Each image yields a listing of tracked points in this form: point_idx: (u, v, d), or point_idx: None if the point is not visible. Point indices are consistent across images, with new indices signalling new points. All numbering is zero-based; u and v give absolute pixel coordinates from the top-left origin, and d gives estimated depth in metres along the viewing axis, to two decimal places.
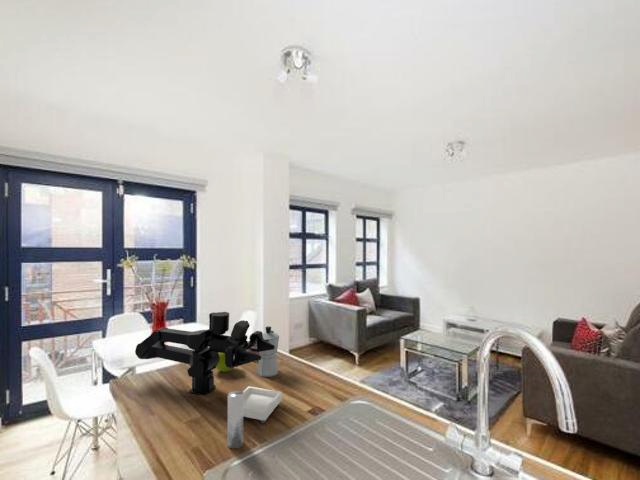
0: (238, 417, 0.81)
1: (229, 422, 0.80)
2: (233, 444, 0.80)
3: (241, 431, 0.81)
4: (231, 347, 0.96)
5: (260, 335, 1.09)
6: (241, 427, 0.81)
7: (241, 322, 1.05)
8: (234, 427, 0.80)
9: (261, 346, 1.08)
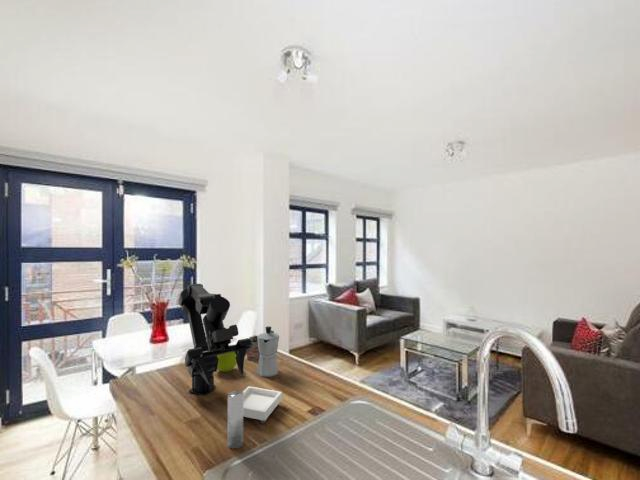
0: (238, 417, 0.81)
1: (229, 422, 0.80)
2: (233, 444, 0.80)
3: (241, 431, 0.81)
4: (192, 353, 0.87)
5: (244, 350, 0.94)
6: (241, 427, 0.81)
7: (225, 331, 0.90)
8: (234, 427, 0.80)
9: (238, 359, 0.95)
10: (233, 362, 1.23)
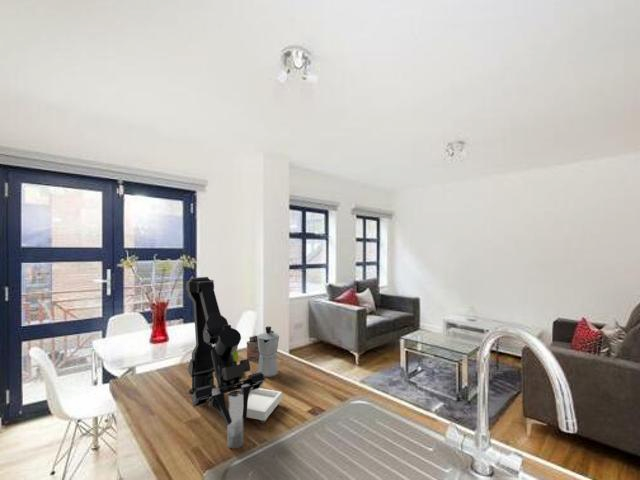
0: (238, 416, 0.81)
1: None
2: (233, 444, 0.80)
3: (241, 431, 0.81)
4: (200, 393, 0.79)
5: (247, 388, 0.85)
6: (241, 427, 0.81)
7: (236, 368, 0.82)
8: (234, 427, 0.80)
9: None
10: None
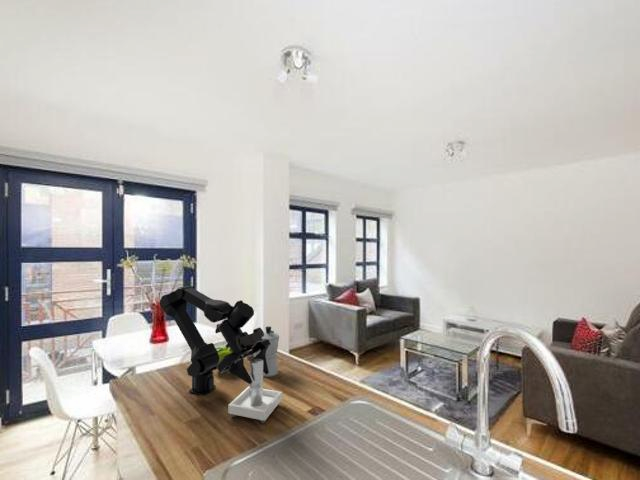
0: (261, 378, 0.96)
1: (254, 384, 0.95)
2: (257, 402, 0.95)
3: (262, 390, 0.97)
4: (231, 358, 0.91)
5: (264, 350, 1.02)
6: (262, 387, 0.97)
7: (257, 334, 0.97)
8: (259, 388, 0.95)
9: None
10: None
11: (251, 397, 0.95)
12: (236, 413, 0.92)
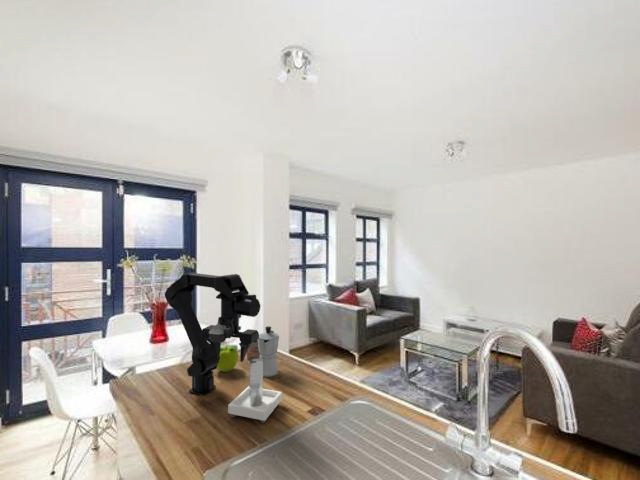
0: (261, 378, 0.96)
1: (253, 384, 0.95)
2: (257, 402, 0.95)
3: (262, 390, 0.97)
4: (202, 334, 1.03)
5: (242, 345, 1.00)
6: (262, 387, 0.97)
7: (215, 336, 0.96)
8: (258, 388, 0.95)
9: None
10: (233, 362, 1.23)
11: (251, 397, 0.95)
12: (236, 413, 0.92)
